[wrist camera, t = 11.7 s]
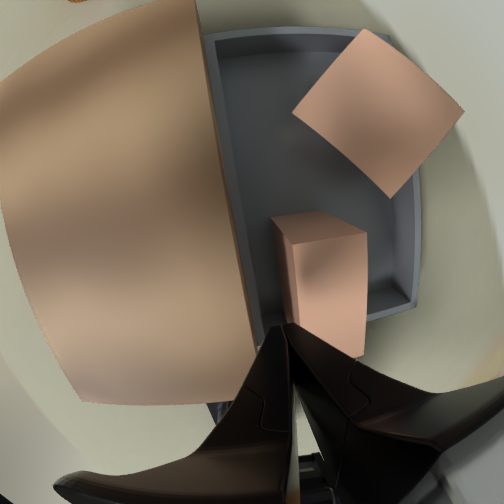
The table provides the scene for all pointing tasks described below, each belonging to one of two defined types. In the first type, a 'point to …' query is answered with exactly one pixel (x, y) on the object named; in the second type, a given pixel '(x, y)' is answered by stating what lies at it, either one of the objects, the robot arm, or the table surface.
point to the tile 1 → (323, 277)
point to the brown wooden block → (127, 211)
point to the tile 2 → (379, 111)
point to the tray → (301, 166)
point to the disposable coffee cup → (77, 0)
